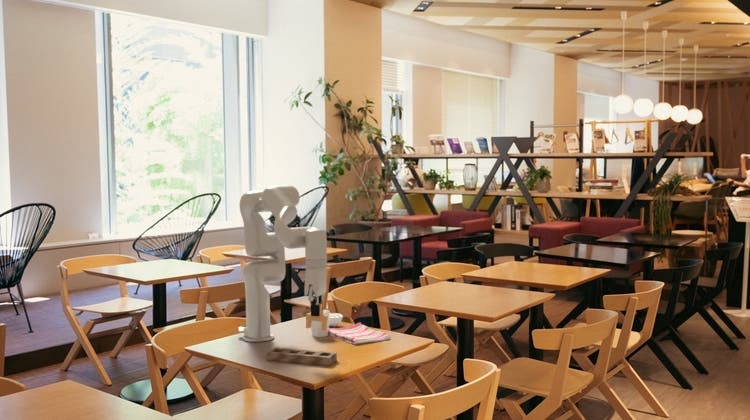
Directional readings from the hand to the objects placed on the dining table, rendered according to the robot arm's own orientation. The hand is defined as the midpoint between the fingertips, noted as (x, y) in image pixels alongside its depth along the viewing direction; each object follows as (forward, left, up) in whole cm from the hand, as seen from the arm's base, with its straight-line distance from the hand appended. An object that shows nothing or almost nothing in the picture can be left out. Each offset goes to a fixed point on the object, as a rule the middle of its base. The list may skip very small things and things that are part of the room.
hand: (316, 314), depth 257 cm
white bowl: (-16, +53, -17) cm, 58 cm away
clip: (0, 0, -5) cm, 5 cm away
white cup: (-14, +37, -17) cm, 43 cm away
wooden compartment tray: (-6, 0, -17) cm, 18 cm away
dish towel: (+2, +39, -18) cm, 43 cm away
